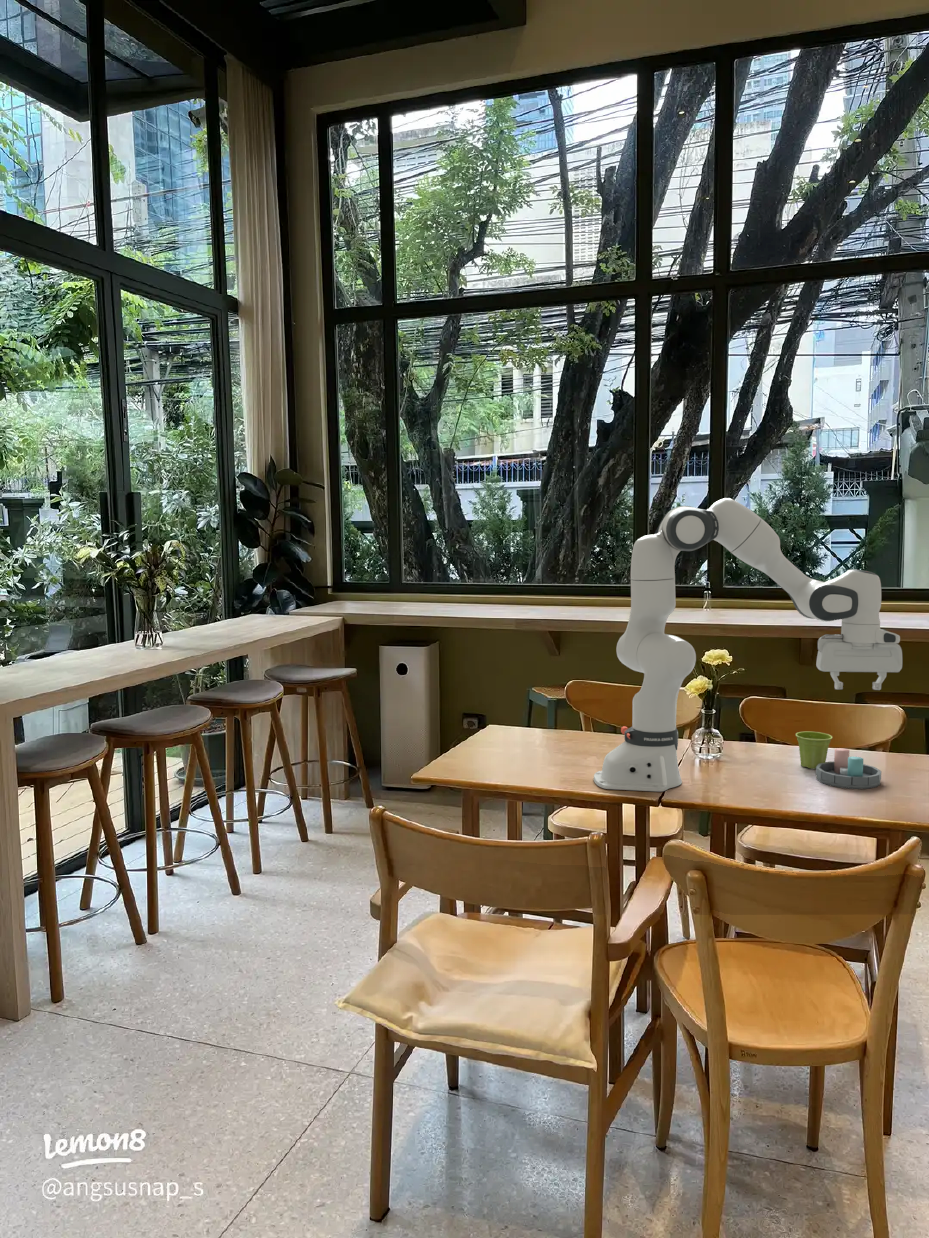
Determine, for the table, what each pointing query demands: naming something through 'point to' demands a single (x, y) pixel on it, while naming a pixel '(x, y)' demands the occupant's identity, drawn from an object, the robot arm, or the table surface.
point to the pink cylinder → (840, 759)
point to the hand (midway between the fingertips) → (857, 689)
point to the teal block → (855, 766)
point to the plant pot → (813, 748)
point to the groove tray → (848, 777)
